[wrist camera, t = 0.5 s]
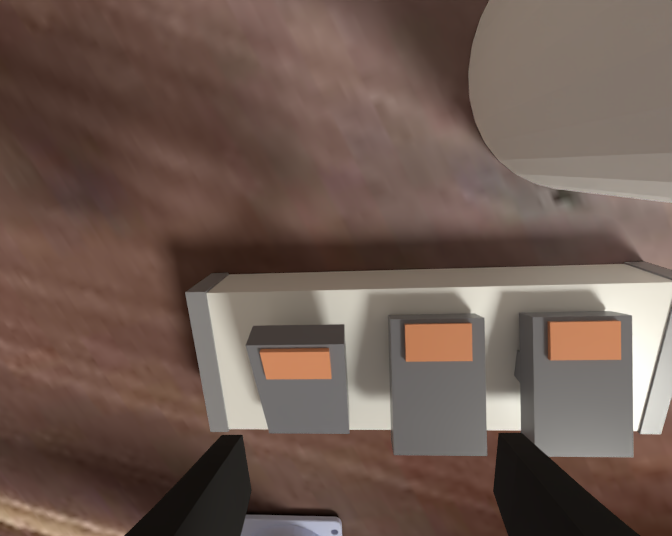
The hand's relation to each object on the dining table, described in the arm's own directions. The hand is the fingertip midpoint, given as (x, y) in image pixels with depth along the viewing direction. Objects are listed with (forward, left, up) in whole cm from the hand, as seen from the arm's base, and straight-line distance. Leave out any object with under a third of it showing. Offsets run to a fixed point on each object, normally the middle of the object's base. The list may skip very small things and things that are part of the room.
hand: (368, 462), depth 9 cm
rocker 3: (-1, -9, -6) cm, 11 cm away
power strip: (-1, -6, -10) cm, 12 cm away
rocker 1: (-1, +3, -6) cm, 6 cm away
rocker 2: (-1, -3, -6) cm, 7 cm away
